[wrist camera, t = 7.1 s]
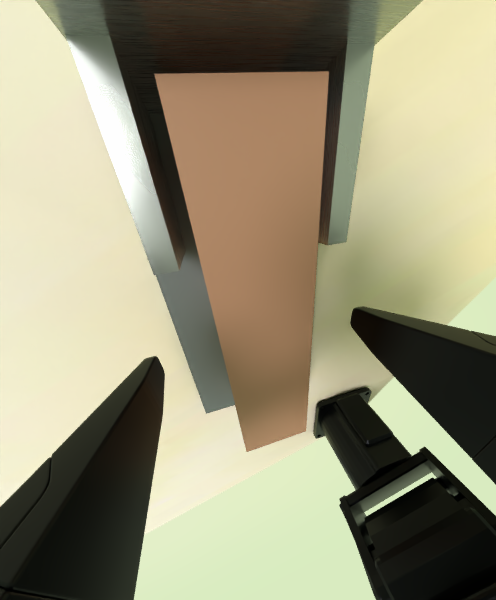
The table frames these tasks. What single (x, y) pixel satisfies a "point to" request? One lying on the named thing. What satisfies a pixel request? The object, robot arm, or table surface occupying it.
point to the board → (192, 295)
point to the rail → (255, 227)
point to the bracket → (220, 59)
